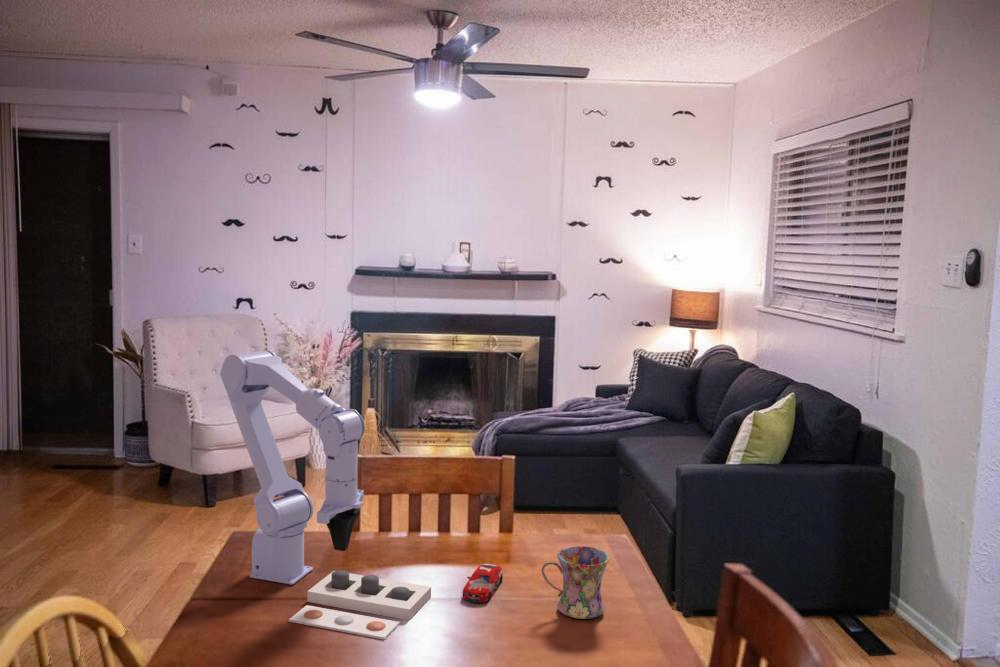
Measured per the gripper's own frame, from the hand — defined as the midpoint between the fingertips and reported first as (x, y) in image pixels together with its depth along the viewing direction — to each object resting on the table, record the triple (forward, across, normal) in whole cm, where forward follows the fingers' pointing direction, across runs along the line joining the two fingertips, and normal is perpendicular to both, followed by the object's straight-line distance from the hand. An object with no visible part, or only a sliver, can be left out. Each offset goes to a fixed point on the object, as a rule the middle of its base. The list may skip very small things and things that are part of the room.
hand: (340, 549), depth 162 cm
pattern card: (+9, -10, -6) cm, 15 cm away
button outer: (+8, 0, -12) cm, 15 cm away
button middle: (+7, 0, -6) cm, 9 cm away
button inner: (+7, 0, 0) cm, 7 cm away
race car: (+9, +12, -24) cm, 28 cm away
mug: (+9, +9, -42) cm, 44 cm away
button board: (+9, 0, -6) cm, 11 cm away
